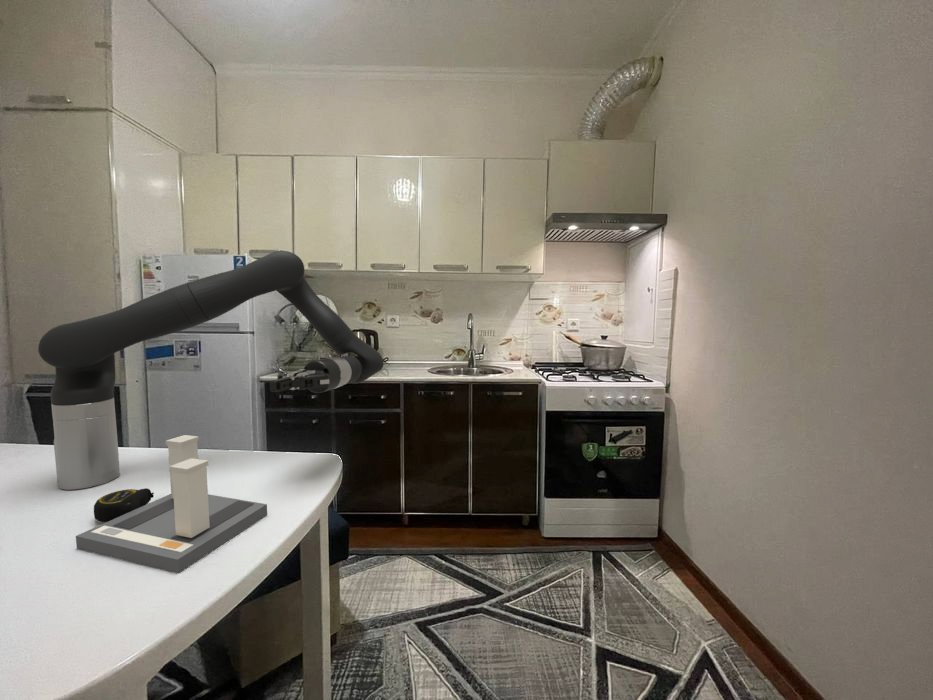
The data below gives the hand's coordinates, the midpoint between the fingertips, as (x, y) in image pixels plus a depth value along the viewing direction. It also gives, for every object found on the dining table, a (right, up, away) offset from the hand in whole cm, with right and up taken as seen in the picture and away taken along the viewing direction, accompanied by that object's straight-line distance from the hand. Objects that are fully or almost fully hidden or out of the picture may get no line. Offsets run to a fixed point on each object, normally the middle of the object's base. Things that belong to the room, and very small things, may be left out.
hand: (273, 386), depth 74 cm
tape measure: (-23, -22, -6) cm, 33 cm away
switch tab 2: (-5, -21, -15) cm, 26 cm away
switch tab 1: (-14, -20, -4) cm, 24 cm away
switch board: (-10, -23, -11) cm, 27 cm away
